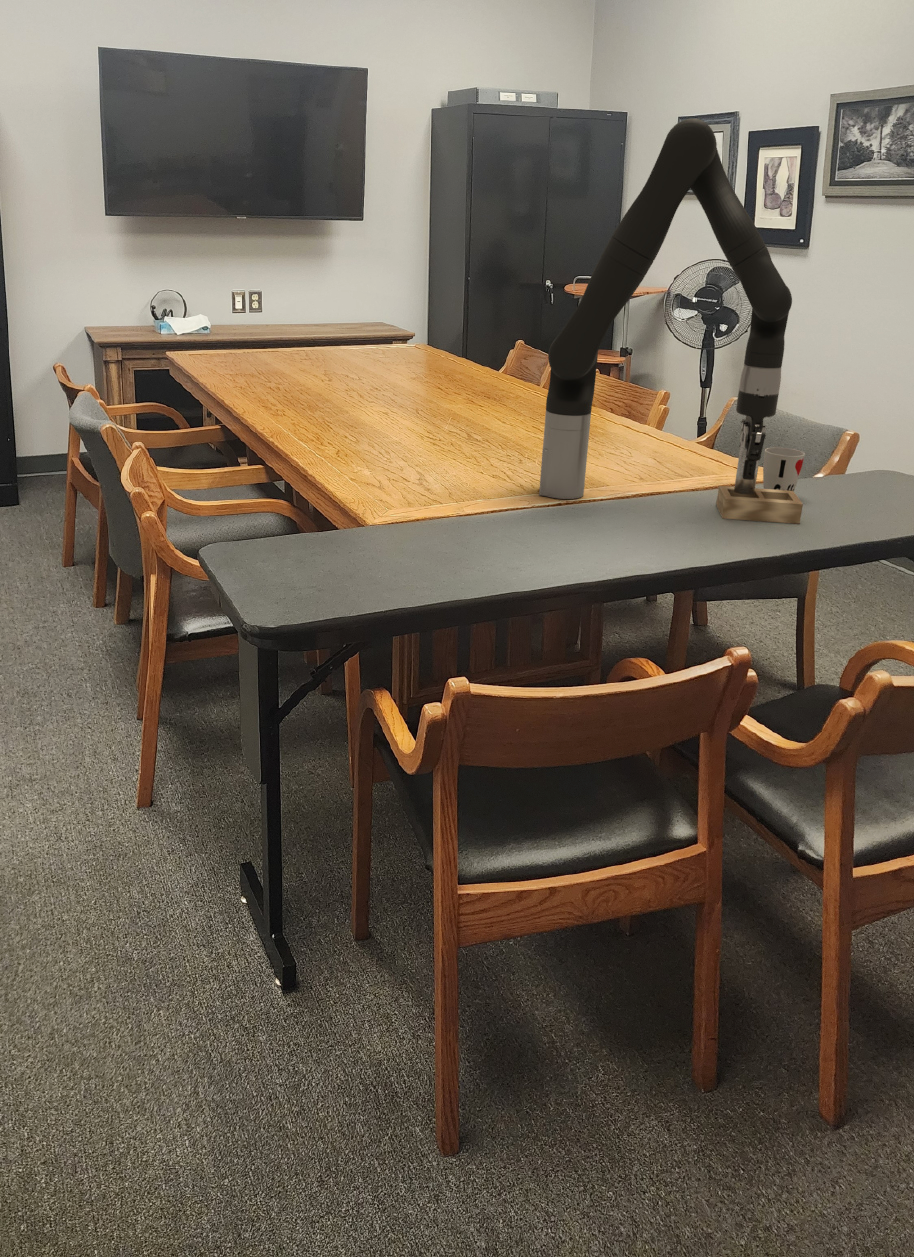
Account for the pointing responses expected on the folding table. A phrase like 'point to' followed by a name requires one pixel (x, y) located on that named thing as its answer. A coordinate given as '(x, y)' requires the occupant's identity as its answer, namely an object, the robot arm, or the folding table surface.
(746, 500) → the frame
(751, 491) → the grey rounded cylinder
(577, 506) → the folding table surface
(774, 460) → the cup
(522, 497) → the folding table surface
